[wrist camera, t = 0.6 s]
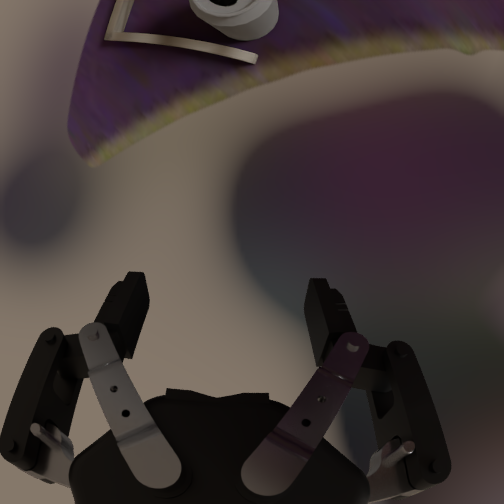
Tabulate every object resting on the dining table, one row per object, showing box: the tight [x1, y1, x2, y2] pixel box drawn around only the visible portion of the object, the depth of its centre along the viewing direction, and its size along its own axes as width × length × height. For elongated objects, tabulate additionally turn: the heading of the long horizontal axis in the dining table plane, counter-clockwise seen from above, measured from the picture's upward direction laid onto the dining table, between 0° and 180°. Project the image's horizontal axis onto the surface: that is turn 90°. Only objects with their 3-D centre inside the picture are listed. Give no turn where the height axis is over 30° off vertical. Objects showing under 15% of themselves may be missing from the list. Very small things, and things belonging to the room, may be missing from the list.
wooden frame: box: [104, 0, 258, 64], centre depth 22 cm, size 20×12×2 cm, turn 72°
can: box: [189, 0, 279, 41], centre depth 19 cm, size 8×8×12 cm
